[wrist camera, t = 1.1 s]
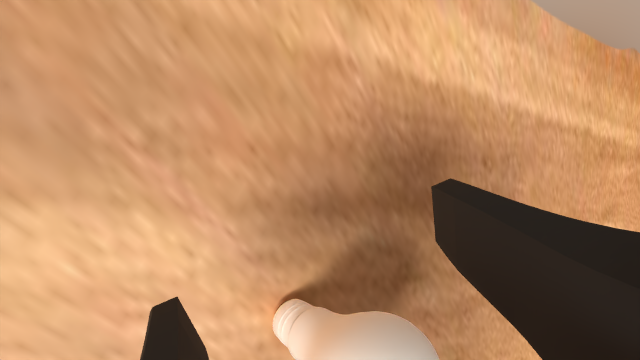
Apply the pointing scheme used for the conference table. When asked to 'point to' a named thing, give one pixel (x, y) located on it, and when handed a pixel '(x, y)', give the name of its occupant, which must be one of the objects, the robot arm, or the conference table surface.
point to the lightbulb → (348, 334)
